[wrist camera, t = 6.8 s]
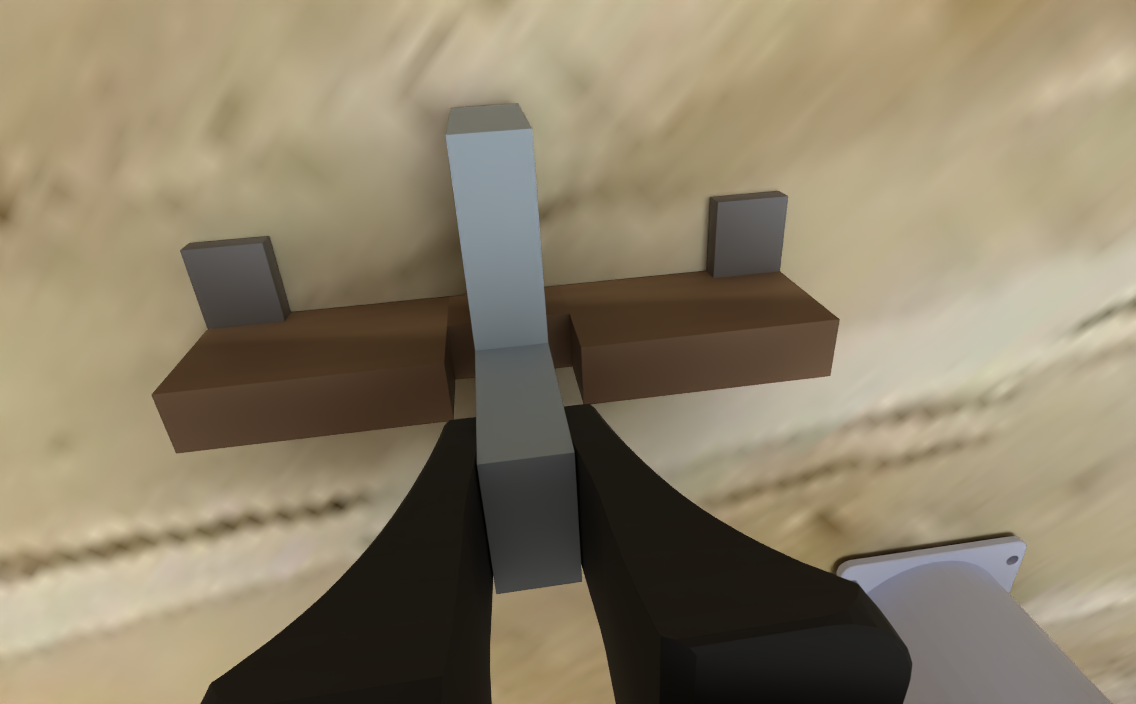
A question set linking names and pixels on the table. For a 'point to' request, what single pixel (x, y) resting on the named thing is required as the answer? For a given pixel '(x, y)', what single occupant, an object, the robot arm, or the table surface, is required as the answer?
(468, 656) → the robot arm
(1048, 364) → the table surface
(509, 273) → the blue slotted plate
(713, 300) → the walnut slotted plate
